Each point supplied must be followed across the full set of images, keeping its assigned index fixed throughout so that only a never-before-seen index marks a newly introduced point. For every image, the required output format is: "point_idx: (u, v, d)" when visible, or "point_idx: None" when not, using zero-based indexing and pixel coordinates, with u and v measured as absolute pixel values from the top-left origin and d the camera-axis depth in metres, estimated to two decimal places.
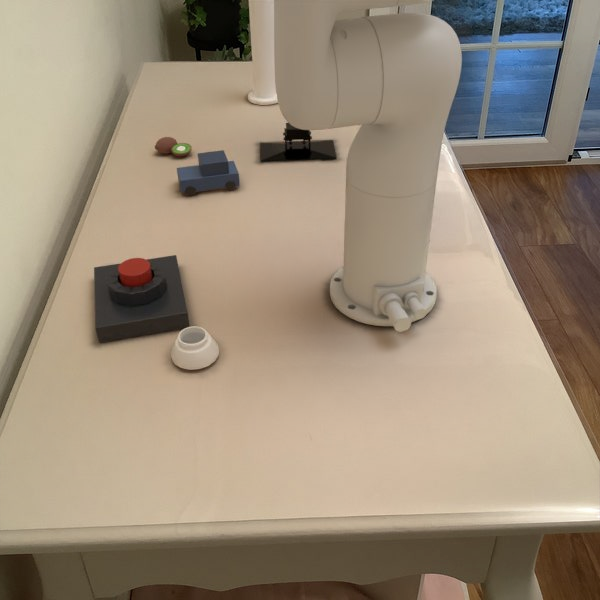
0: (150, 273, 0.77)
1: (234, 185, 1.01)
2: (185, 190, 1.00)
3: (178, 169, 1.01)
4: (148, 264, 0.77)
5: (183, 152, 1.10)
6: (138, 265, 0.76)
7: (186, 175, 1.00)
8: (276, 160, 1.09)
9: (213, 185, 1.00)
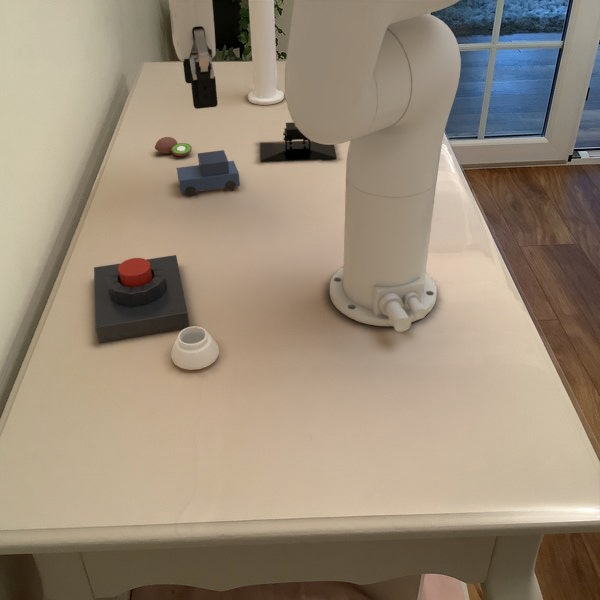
0: (150, 273, 0.77)
1: (234, 185, 1.01)
2: (185, 190, 1.00)
3: (178, 169, 1.01)
4: (148, 264, 0.77)
5: (183, 152, 1.10)
6: (138, 265, 0.76)
7: (186, 175, 1.00)
8: (276, 160, 1.09)
9: (213, 185, 1.00)
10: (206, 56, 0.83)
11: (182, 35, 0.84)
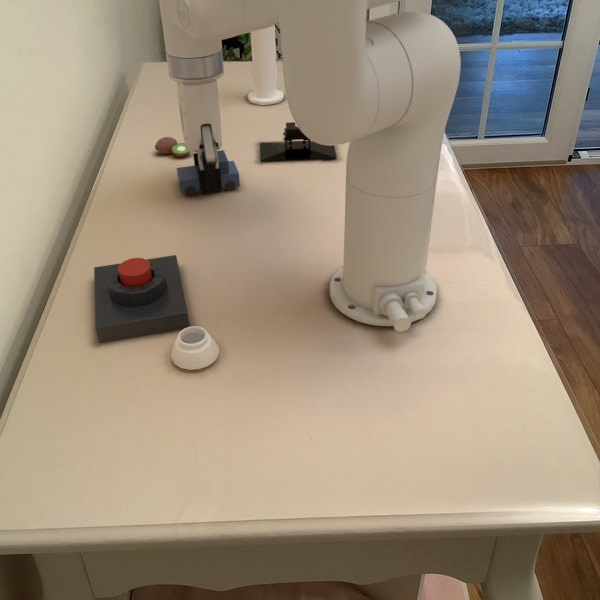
0: (150, 273, 0.77)
1: (234, 185, 1.01)
2: (185, 190, 1.00)
3: (178, 169, 1.01)
4: (148, 264, 0.77)
5: (183, 152, 1.10)
6: (138, 265, 0.76)
7: (186, 175, 1.00)
8: (276, 160, 1.09)
9: None
10: (213, 161, 0.93)
11: (191, 132, 0.92)
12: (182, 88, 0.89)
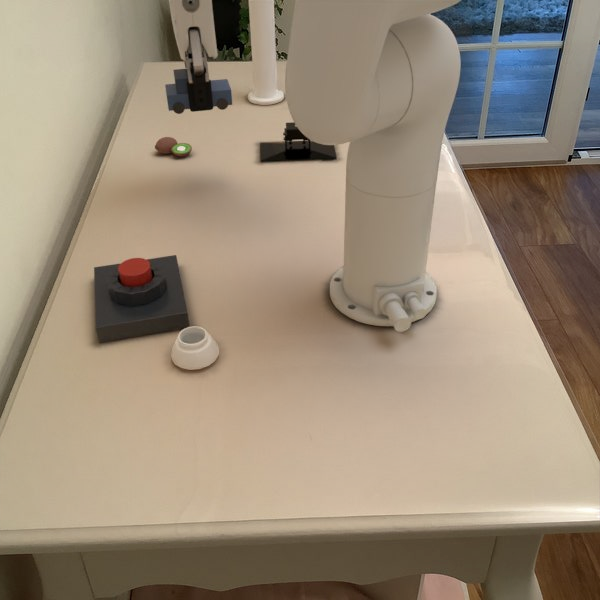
0: (150, 273, 0.77)
1: None
2: None
3: (228, 87, 0.93)
4: (148, 264, 0.77)
5: (183, 152, 1.10)
6: (138, 265, 0.76)
7: (220, 82, 0.94)
8: (276, 160, 1.09)
9: None
10: None
11: None
12: None
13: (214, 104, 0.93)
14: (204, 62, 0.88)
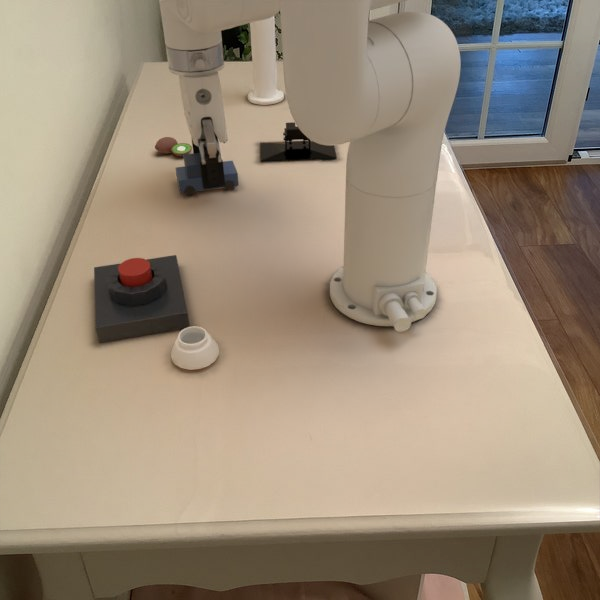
0: (150, 273, 0.77)
1: None
2: None
3: (235, 170, 1.01)
4: (148, 264, 0.77)
5: (183, 152, 1.10)
6: (138, 265, 0.76)
7: (226, 165, 1.02)
8: (276, 160, 1.09)
9: None
10: None
11: None
12: None
13: None
14: (216, 143, 0.93)
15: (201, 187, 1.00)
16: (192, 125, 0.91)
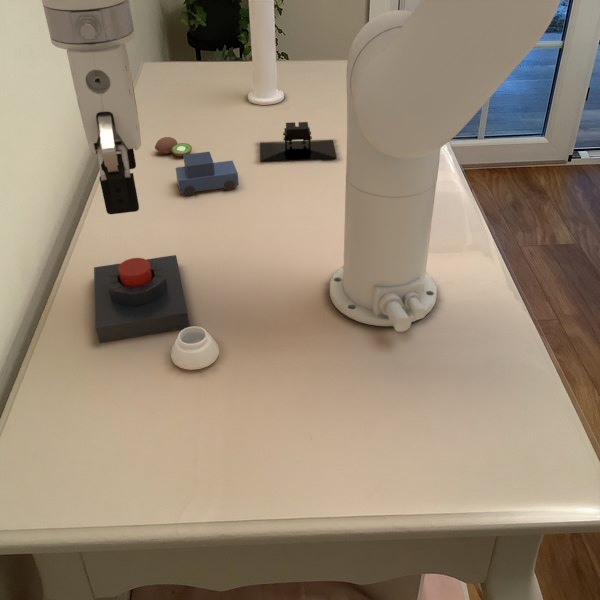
0: (150, 273, 0.77)
1: None
2: None
3: (235, 170, 1.01)
4: (148, 264, 0.77)
5: (183, 152, 1.10)
6: (138, 265, 0.76)
7: (226, 165, 1.02)
8: (276, 160, 1.09)
9: None
10: None
11: None
12: None
13: (222, 186, 1.01)
14: (122, 150, 0.64)
15: (201, 187, 1.00)
16: (84, 123, 0.62)
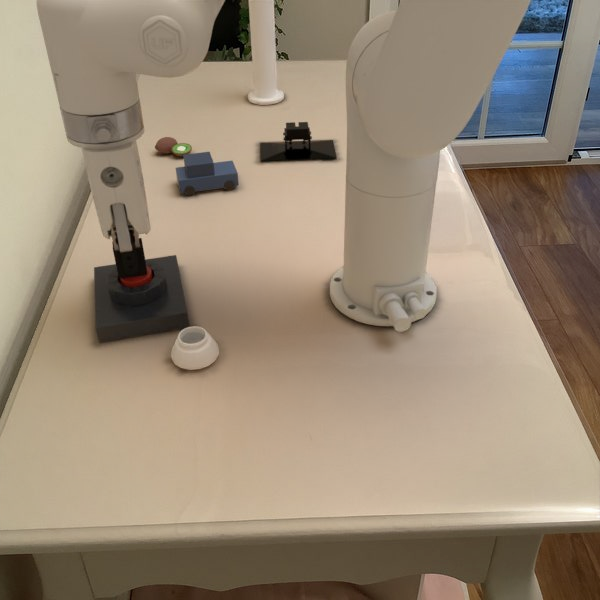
0: (151, 279, 0.77)
1: None
2: None
3: (235, 170, 1.01)
4: (149, 270, 0.77)
5: (183, 152, 1.10)
6: None
7: (226, 165, 1.02)
8: (276, 160, 1.09)
9: None
10: None
11: None
12: None
13: (222, 186, 1.01)
14: (133, 232, 0.71)
15: (201, 187, 1.00)
16: (98, 213, 0.66)
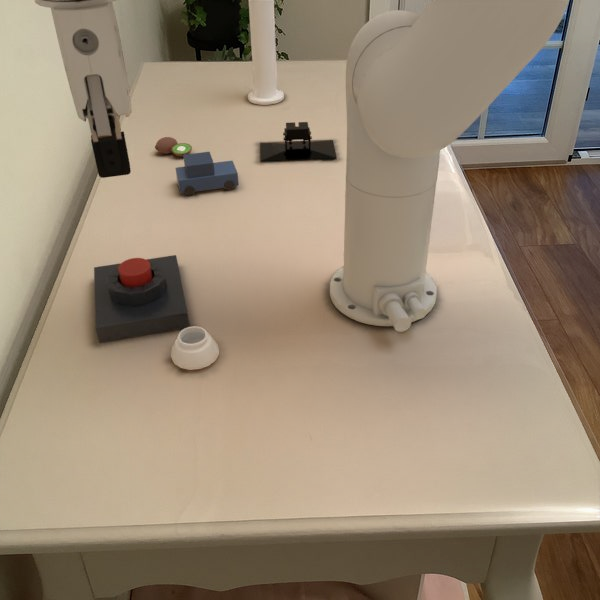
0: (150, 273, 0.77)
1: None
2: None
3: (235, 170, 1.01)
4: (148, 264, 0.77)
5: (183, 152, 1.10)
6: (138, 265, 0.76)
7: (226, 165, 1.02)
8: (276, 160, 1.09)
9: None
10: None
11: None
12: None
13: (222, 186, 1.01)
14: (113, 119, 0.64)
15: (201, 187, 1.00)
16: (71, 88, 0.59)
